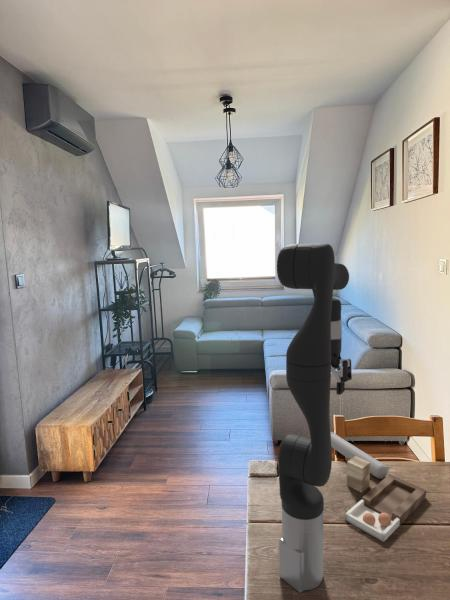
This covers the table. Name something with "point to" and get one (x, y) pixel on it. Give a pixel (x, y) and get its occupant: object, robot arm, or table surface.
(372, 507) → the slot board
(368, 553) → the table surface
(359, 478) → the block
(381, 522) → the ball
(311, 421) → the robot arm
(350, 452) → the tube
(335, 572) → the table surface
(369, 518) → the ball
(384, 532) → the tray
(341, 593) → the table surface
